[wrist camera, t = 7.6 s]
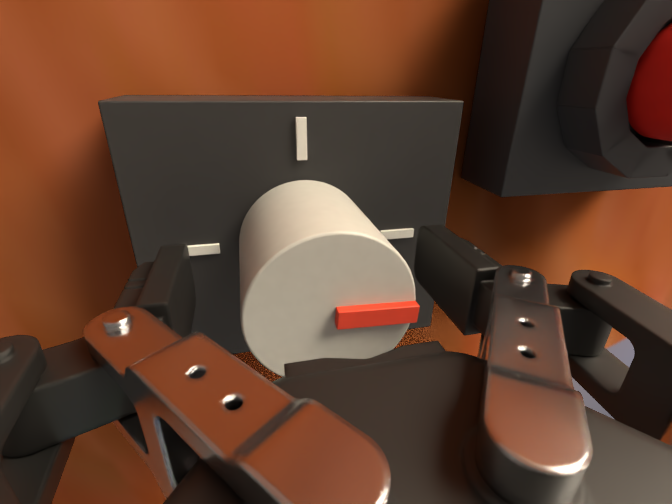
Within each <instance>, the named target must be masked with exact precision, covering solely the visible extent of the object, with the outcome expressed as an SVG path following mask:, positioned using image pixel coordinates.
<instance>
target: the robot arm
mask: <svg viewBox="0 0 672 504" xmlns="http://www.w3.org/2000/svg"><path fill="white" fill-rule="evenodd" d="M414 273H415V277H416V279H417V281H418V282H419V284H420V285H421V286H422V287H423V288H424V289H425V291H426V292H427V293H428V294H429V295H430V296H431V297H432V299H433V300H434V301H435V302H436V303H437V304H438V306H439V307H440V308H441V309H442V310H443V311H444V313H445V314H446V315H447V316H448V317H449V318H450V319H451V321H452V322H453V323H454V324H455V325H456V326H457V328H458V329H459V330H460V331H461V332H462V333H463V335H471V334H477V333H481V339H480V343H479V349H478V356H477V357H475V356H472V355H468V354H463V353H458V352H450V351H445V350H444V348H443V347H442V346H441V344H440V343H439V342H438V341H432V342H425V343H418V344H412V345H405V346H401V347H398V348H396V349H393V350H390V351H388V352H385V353H382V354H380V355H377V356H374V357H372V358H368V359H350V358H319V359H313V360H306V361H300V362H293V363H286V364H284V374H285V376H284V377H282V378H279V379H277V380H275V381H273V382H271V381H269V380H268V379H267V378H265V377H264V376H262V375H261V374H260V373H258V372H257V371H255V370H254V369H252V368H251V367H250V366H248V365H247V364H245V363H244V362H243V361H241V360H240V359H238V358H237V357H236V356H234V355H233V354H231V353H230V352H228V351H227V350H226V349H224V348H223V347H221V346H220V345H219V344H217V343H216V342H214V341H213V340H212V339H210V338H209V337H207V336H206V335H204V334H203V333H201V332H199V331H195V332H193V333H191V329H192V323H193V317H194V312H195V305H196V294H195V286H194V280H193V274H192V268H191V262H190V256H189V251H188V247H187V245H186V244H180V245H167V246H161V247H160V249H159V252H158V254H157V256H156V259H155V261H154V262H144V263H143V264H141V265H140V266H139V267H137V268H136V269H135V270H133V271H132V273H131V275H130V277H129V279H128V282H127V283H126V285H125V287H124V290H123V291H122V293H121V295H120V297H119V299H118V301H117V302H116V304H115V306H114V308H113V309H112V310H109V311H106V312H104V313H102V314H100V315H98V316H96V317H94V318H93V319H92V320H90V321H89V322H88V323H87V324H86V326H85V327H84V329H83V335H84V337H82V338H80V339H77V340H74V341H71V342H68V343H64V344H61V345H58V346H54V347H51V348H47V349H44V350H42V348H41V346H40V343H39V341H38V340H37V338H35V337H33V336H28V335H16V336H9V337H4V338H0V504H52V501H53V498H54V495H55V493H56V490H57V487H58V484H59V482H60V479H61V476H62V473H63V471H64V468H65V465H66V462H67V460H68V457H69V454H70V451H71V449H72V446H73V443H74V440H75V437H76V436H78V435H81V434H83V433H86V432H88V431H91V430H93V429H96V428H98V427H101V426H103V425H106V424H108V423H111V422H113V423H114V425H115V426H116V427H117V429H118V430H119V431H120V432H121V434H122V435H123V436H124V437H125V439H126V440H127V441H128V442H129V444H130V445H131V446H132V447H133V449H134V450H135V451H136V452H137V453H138V455H139V456H140V457H141V458H142V460H143V461H144V462H145V463H146V465H147V466H148V467H149V468H150V470H151V471H152V473H153V475H154V476H155V478H156V480H157V483H158V485H159V487H160V489H161V491H162V492H163V494H164V496H165V497H166V500H165V502H164V503H163V504H672V310H671V309H669V308H668V307H666V306H664V305H663V304H661V303H659V302H657V301H656V300H654V299H652V298H651V297H649V296H647V295H645V294H644V293H642V292H640V291H638V290H637V289H635V288H633V287H632V286H630V285H628V284H626V283H625V282H623V281H621V280H620V279H618V278H616V277H614V276H611V275H609V274H606V273H603V272H598V271H592V270H578V271H575V272H573V273H572V275H571V279H570V282H569V285H557V284H547V282H546V279H545V277H544V276H543V275H541V274H540V273H538V272H537V271H534V270H532V269H529V268H526V267H522V266H515V265H505V266H502V265H501V264H499V263H498V262H497V261H495V260H494V259H492V258H491V257H490V256H488V255H487V254H484V252H483V251H482V250H480V249H477V247H476V246H475V245H473V244H472V243H471V242H469V241H467V240H465V239H462V238H460V237H458V236H457V235H455V234H454V233H453V232H451V231H450V230H449V229H447V228H446V227H445V226H443V225H441V224H440V225H428V226H421V227H420V228H419V231H418V235H417V244H416V253H415V261H414ZM612 327H613V328H614V329H616V330H617V331H618V332H620V333H621V334H623V335H624V336H625V337H627V338H628V339H629V340H630V341H631V343H632V345H633V347H634V350H635V356H634V359H633V361H632V363H631V365H630V368H629V367H628V366H626V365H625V364H624V363H623V362H621V361H620V360H619V359H618V358H617V357H615V356H614V355H613V354H612V353H610V352H609V351H608V350H607V349H605V348H604V346H605V344H606V341H607V339H608V337H609V334H610V332H611V329H612ZM571 376H572V377H573V378H574V379H575V380H576V381H577V382H578V383H579V384H580V385H581V386H582V387H583V388H584V389H585V390H586V391H587V392H588V393H589V394H590V395H591V396H592V397H593V398H594V399H595V400H596V401H597V402H598V403H599V404H600V405H601V406H602V407H603V408H604V409H605V410H606V411H607V412H608V413H609V414H610V415H611V416H612V417H613V418H614V419H615V420H614V419H612V418H610V417H608V416H605V415H603V414H601V413H599V412H597V411H595V410H592V409H590V408H588V407H586V406H584V401H583V397H582V395H581V393H580V392H579V391H576V390H574V387H573V383H572V377H571Z"/></svg>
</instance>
